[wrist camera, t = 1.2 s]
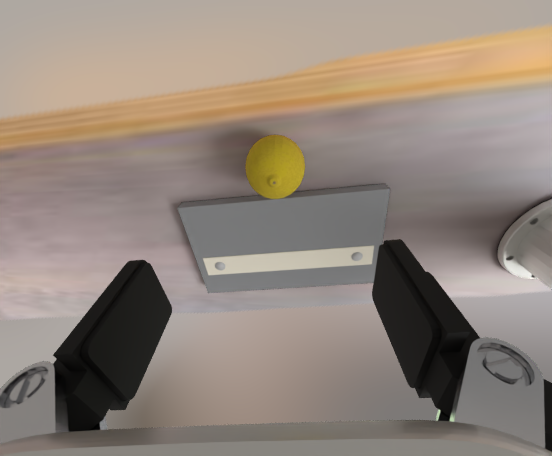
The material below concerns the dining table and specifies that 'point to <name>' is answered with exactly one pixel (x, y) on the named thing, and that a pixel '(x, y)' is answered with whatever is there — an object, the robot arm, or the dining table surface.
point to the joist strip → (290, 260)
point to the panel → (287, 234)
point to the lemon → (275, 166)
